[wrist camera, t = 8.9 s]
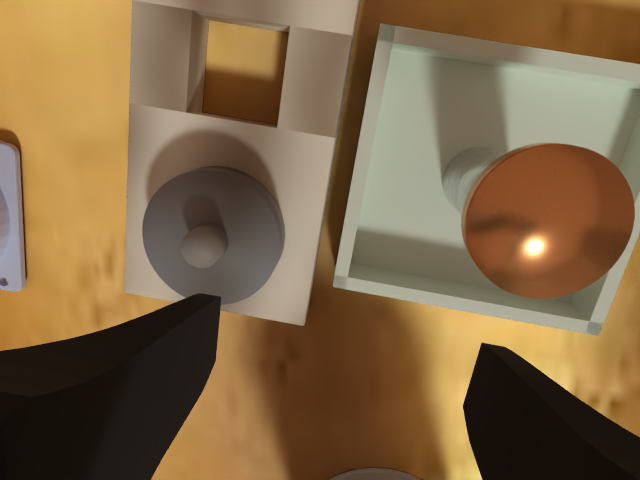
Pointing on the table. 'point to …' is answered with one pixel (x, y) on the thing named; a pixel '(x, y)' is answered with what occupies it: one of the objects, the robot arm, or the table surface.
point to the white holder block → (232, 158)
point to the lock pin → (541, 215)
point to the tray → (464, 133)
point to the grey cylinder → (374, 475)
